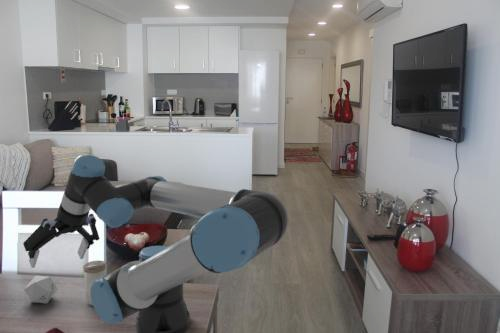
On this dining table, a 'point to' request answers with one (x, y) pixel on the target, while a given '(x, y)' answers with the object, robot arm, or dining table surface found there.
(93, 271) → the jar
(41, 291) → the die
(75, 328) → the dining table surface
